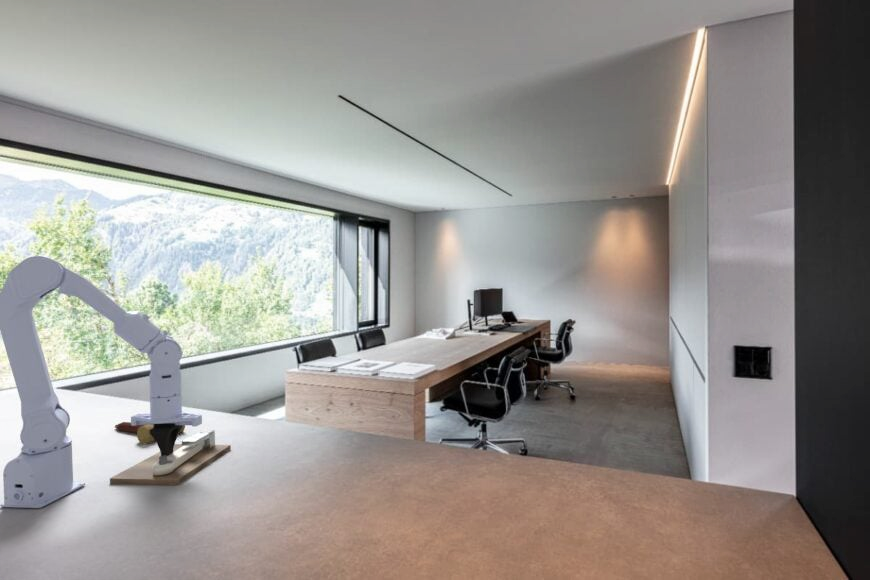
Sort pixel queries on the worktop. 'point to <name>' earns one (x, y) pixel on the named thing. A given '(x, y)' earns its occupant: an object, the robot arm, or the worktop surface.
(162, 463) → the swing link
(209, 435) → the keeper
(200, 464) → the pivot board
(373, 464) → the worktop surface
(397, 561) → the worktop surface
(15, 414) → the worktop surface
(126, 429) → the gavel
